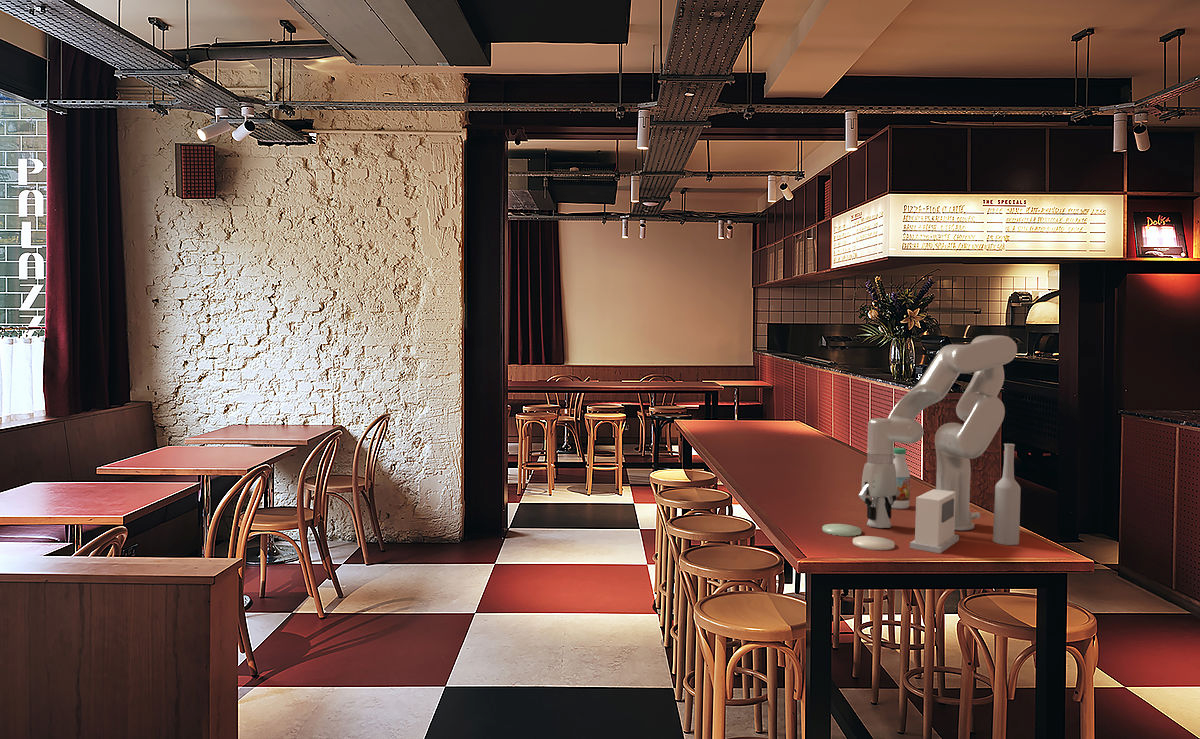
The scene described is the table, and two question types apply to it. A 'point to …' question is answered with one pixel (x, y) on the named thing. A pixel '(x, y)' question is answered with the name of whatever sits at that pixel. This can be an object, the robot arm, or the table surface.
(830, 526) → the green pad
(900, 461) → the milk bottle
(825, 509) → the table surface
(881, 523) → the flask
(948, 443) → the robot arm
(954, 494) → the control unit
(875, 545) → the cream pad
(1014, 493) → the bottle
